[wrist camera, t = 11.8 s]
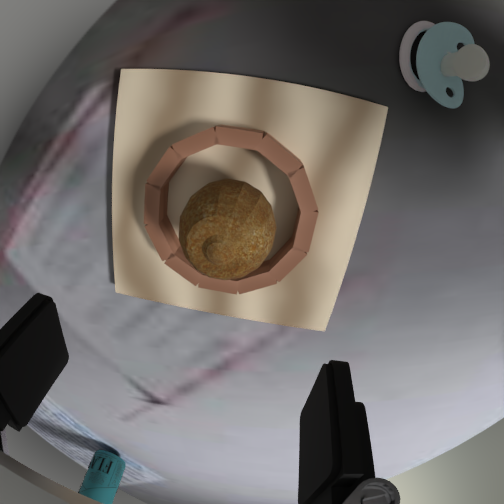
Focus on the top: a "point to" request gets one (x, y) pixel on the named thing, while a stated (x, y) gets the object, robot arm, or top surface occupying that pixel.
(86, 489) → the beverage bottle
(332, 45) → the top surface
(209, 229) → the fruit
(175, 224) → the ring board
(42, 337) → the robot arm
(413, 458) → the top surface
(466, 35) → the pacifier
